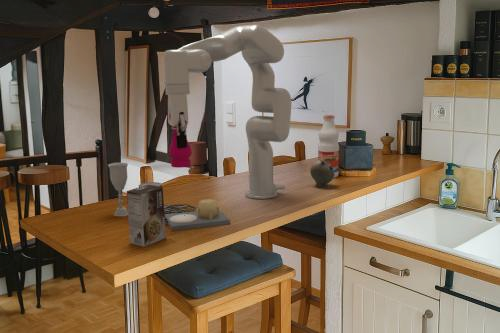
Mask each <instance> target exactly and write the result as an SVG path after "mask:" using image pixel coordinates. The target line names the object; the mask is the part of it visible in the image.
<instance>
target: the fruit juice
mask: <svg viewBox="0 0 500 333" xmlns="http://www.w3.org/2000/svg"><path fill="white" fill-rule="evenodd" d="M339 136H340V134H339V131H338V129H337V127H336V124H335V115H334V114H333V115H332V114H326V115H323V124H322V127H321V129H320V130H319V132H318V139H319V141H318V150H317V152H318V153H317V154H318V155H317V161H319V159H320V160H321V161H327V162H329V164H330V165H331V166H332V168H333V169H332V170H331V171H332V172H333V173H334V174H335V175H334V178H337V177H339V167H340V166H339V164H340V160H339V159H340V157H339V156H340V145H339V142H338V141H339V138H340V137H339Z"/></svg>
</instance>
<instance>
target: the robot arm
mask: <svg viewBox="0 0 500 333" xmlns="http://www.w3.org/2000/svg"><path fill="white" fill-rule="evenodd" d="M240 52H241V56H242V58H243V59H244V61H245V62H246V63H247V65H248V67H249V68H250V70H251V73H252V87H251V108H252V109H253V110H254V111H255V112H257V113H258V112H259V113H264V114H266V113H268V114H273V116H270V115H269V116H268V115H255V116H251V117H250V118H249V119H248V120H247V121H246V124H245V134H246V137H247V139H246V140H247V144H248V145H247V146H248V170H249V171H248V172H249V176H248V177H249V178H248V179H249V180H248V182H249V190H247V191H246V192H245V196H246V197H247V198H250V199H254V200H257V199H258V200H265V199H266V200H267V199H273V198H275V197H277V196H278V190H285V189H286V185H285V184H279V183H278V184H276V183H274V150H273V146H272V145H271V143H270V142H273V143H274V142H275V143H282V142H285V141H286V140H287V139H288V137H289V136H290V130H291V129H290V128H291V118H292V116H291V115H292V97H291V94H290V92H289V91H288V90H287V89H285V88H283V87H275V85H276V84H275V82H276V80H275V79H276V77H275V76H276V75H275V71H274V70H273V67H272V66H271V64H276V63H279V62H281V61H282V60H283V59H284V54H285V48H284V45H283V43H282V41H280V39H279V38H278V37H276V36H275V35H274V34H273V33H272V32H270V31H269V30H268V29H266V28H265V27H263V26H262V25H259V24H247V25H236V26H233V27H232V28H229V29H227V30H225V31H223V32H220V33H219V34H217V35H214V36H210V37H207V38H205V39H202V40H198V41H195V42H191V43H189V44H187V45H184V46H181V47H180V48H178V49H167V50H165V51H164V53H163V66H164V68H163V69H164V85H165V88H164V89H165V95H166V96H167V123H168V124H169V125H170V126H171V127H172V126H173V127H175V125H176V128H177V136H176V140H177V148H187V140H188V138H187V128H186V126H187V127H188V124H189V112H188V110H189V109H188V96H187V95H190V93H191V92H190V74H201V73H205V72H207V71H208V69H210V67H211V65H212V62H213V63H214V62H219V61H224V60H226V59H228V58H230V57H233V56H235V55H236V54H238V53H240ZM169 115H171V116H170V117H171V120H170V119H169ZM185 121H186V123H185ZM178 124H181V125H179V126H178ZM179 128H180V129H179Z"/></svg>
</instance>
